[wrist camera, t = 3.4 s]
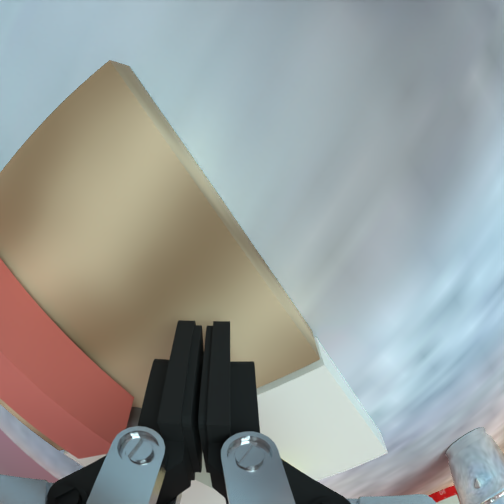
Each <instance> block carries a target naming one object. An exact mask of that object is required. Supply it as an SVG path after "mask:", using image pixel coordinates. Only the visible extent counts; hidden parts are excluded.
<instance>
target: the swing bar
mask: <svg viewBox="0 0 504 504" xmlns="http://www.w3.org/2000/svg"><path fill="white" fill-rule="evenodd" d="M0 399H1V400H3V401H4V402H5V403H6V404H7V405H8V406H9V407H10V408H12V409H13V410H14V411H15V412H16V413H17V414H19V415H20V416H21V417H22V418H23V419H25V420H26V421H27V422H28V423H30V424H31V425H32V426H33V427H35V428H36V429H37V430H38V431H40V432H41V433H42V434H44V435H45V436H46V437H48V438H49V439H50V440H52V441H53V442H54V443H56V444H57V445H59V446H60V447H62V448H63V449H64V450H66V451H67V452H69V453H70V454H72V455H73V456H75V457H76V458H78V459H81V458H87V457H92V456H98V455H103V454H107V453H108V451H109V449H110V447H111V444H112V442H113V440H114V439H115V437H116V436H117V434H119V433H120V432H121V431H123V430H125V429H126V427H127V423H128V419H129V415H130V411H131V407H132V403H133V399H134V397H133V396H132V395H131V394H129V393H128V392H127V391H126V390H125V389H123V388H122V387H121V386H120V385H119V384H118V383H116V382H115V381H114V380H113V379H112V378H111V377H110V376H108V375H107V374H106V373H105V372H104V371H103V370H102V369H101V368H100V367H98V366H97V365H96V364H95V363H94V362H93V361H92V360H91V359H90V358H89V357H88V356H87V355H86V354H85V353H84V352H83V351H81V350H80V349H79V348H78V347H77V346H76V345H75V344H74V343H73V342H72V341H71V340H70V339H69V338H68V337H67V336H66V335H65V334H64V332H63V331H62V330H61V329H60V328H59V327H58V326H57V325H56V324H55V323H54V322H53V321H52V320H51V319H50V318H49V316H48V315H47V314H46V313H45V312H44V311H43V310H42V309H41V308H40V306H39V305H38V304H37V303H36V302H35V301H34V300H33V298H32V297H31V296H30V295H29V294H28V293H27V291H26V290H25V289H24V288H23V286H22V285H21V284H20V283H19V282H18V280H17V279H16V278H15V277H14V275H13V274H12V273H11V271H10V270H9V269H8V268H7V266H6V265H5V264H4V262H3V261H2V260H1V258H0Z"/></svg>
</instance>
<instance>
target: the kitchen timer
mask: <svg viewBox="0 0 504 504" xmlns="http://www.w3.org/2000/svg"><path fill="white" fill-rule="evenodd" d="M429 497H431V498H432V499H433V500H434V501H435V502H436V504H459V502H458V498H457V494H456V490H455V486H452V487H449V488H446V489H443V490H441V491H438V492H436V493H434V494H431V495H429Z"/></svg>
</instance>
